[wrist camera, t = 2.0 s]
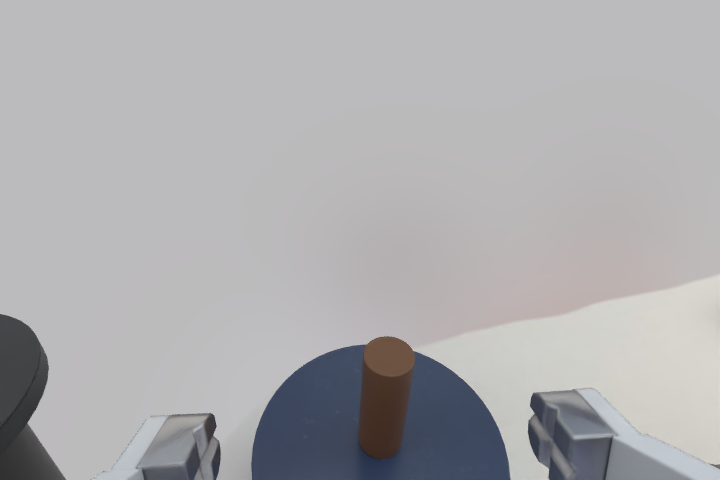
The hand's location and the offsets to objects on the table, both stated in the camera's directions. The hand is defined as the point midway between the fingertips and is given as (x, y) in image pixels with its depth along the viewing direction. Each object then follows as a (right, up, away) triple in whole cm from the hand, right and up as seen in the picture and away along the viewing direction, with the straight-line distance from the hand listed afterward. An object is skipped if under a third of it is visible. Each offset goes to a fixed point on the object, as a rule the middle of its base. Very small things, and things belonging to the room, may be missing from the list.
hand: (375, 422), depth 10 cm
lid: (+1, -8, +13) cm, 15 cm away
